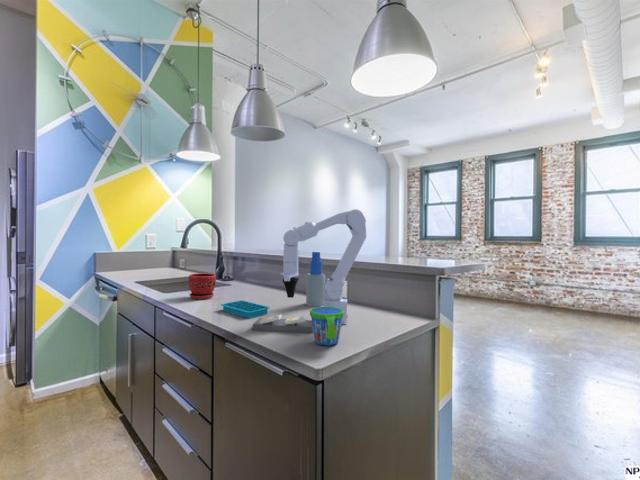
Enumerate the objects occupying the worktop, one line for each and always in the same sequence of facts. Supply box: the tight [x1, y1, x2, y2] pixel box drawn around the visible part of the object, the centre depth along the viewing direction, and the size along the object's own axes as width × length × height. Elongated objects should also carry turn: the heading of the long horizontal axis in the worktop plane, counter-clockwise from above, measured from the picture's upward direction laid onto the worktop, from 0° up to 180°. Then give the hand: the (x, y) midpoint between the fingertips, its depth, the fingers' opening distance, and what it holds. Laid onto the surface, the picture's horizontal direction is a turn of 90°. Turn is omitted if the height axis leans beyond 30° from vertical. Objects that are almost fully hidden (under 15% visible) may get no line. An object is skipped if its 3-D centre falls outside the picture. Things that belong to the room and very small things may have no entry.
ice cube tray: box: [220, 300, 270, 319], centre depth 134 cm, size 12×20×3 cm, turn 50°
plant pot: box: [188, 272, 217, 300], centre depth 161 cm, size 13×13×12 cm
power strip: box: [251, 317, 313, 334], centre depth 113 cm, size 21×8×3 cm, turn 84°
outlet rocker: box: [260, 314, 283, 324], centre depth 111 cm, size 7×4×1 cm, turn 83°
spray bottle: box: [305, 251, 326, 308], centre depth 150 cm, size 9×9×25 cm
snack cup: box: [309, 306, 344, 347], centre depth 99 cm, size 16×10×10 cm
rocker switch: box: [285, 315, 308, 325], centre depth 110 cm, size 7×4×1 cm, turn 83°
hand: (290, 297), depth 121 cm, fingers closed
